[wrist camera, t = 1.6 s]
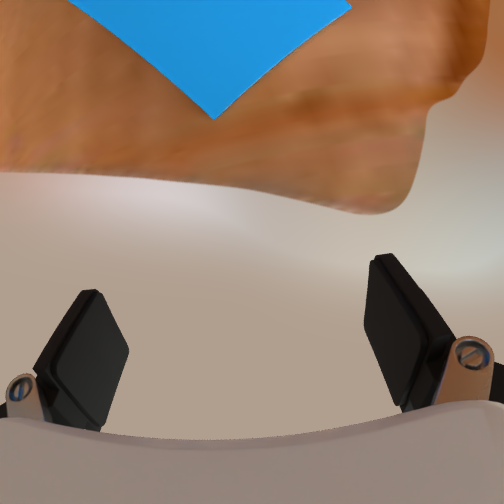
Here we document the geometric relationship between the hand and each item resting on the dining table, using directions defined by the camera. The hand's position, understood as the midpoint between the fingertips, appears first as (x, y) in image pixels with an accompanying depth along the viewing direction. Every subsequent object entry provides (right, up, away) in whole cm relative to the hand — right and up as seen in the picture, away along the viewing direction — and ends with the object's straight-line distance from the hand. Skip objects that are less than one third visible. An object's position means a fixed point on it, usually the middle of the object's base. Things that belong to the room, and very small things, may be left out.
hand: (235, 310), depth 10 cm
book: (-5, +28, +10) cm, 30 cm away
